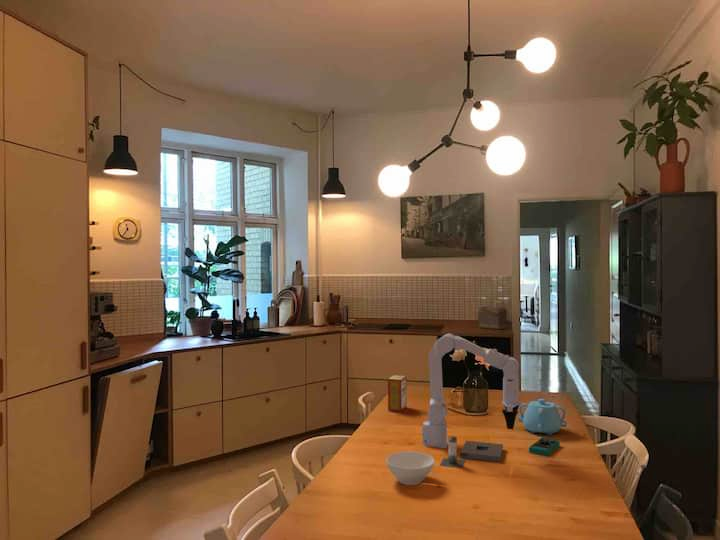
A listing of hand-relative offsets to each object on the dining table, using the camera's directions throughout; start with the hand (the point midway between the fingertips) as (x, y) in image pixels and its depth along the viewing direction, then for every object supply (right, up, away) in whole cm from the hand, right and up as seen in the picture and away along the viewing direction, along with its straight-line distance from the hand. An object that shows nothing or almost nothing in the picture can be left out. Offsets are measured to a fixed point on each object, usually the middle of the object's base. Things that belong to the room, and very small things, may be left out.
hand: (510, 426), depth 204 cm
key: (-24, -10, -12) cm, 29 cm away
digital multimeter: (+14, -11, +4) cm, 18 cm away
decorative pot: (+21, -10, +27) cm, 35 cm away
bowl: (-41, -11, -26) cm, 50 cm away
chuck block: (-11, -10, -2) cm, 15 cm away
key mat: (-24, -10, -12) cm, 29 cm away
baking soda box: (-39, -10, +63) cm, 75 cm away
